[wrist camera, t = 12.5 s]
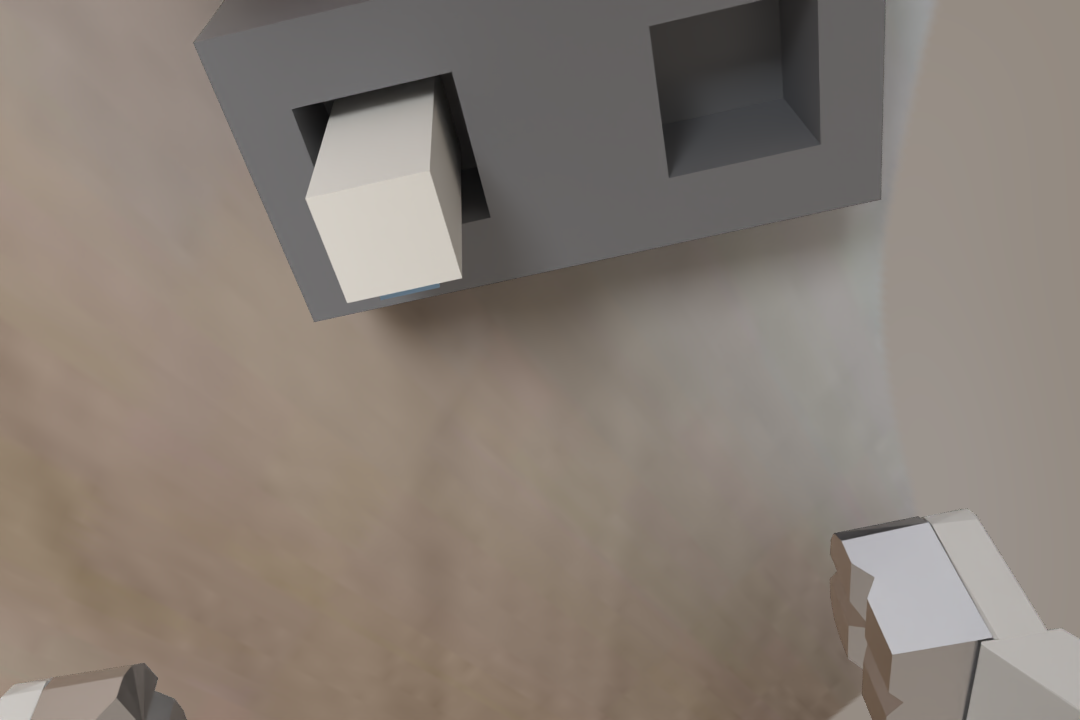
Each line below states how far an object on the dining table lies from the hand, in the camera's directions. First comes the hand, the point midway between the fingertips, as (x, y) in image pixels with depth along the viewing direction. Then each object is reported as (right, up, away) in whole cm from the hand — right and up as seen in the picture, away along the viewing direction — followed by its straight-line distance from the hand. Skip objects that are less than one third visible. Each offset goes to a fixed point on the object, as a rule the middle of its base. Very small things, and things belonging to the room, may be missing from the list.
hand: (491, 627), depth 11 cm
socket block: (+1, +13, +22) cm, 26 cm away
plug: (-4, +12, +22) cm, 25 cm away
